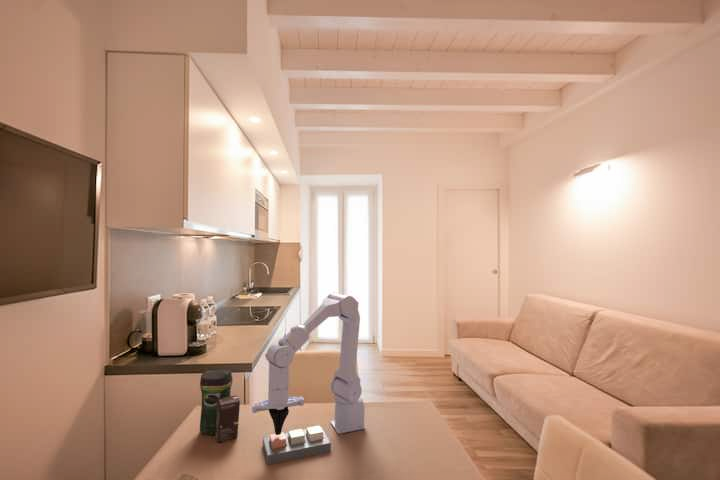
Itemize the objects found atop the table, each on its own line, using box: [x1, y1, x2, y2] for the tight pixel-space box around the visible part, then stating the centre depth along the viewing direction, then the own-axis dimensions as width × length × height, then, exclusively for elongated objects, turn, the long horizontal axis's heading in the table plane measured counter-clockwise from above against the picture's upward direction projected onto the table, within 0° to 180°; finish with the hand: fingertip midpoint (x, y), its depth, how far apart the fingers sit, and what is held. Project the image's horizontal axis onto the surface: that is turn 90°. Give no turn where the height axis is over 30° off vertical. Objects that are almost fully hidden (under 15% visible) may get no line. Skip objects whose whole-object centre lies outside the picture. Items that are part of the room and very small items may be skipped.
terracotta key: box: [269, 431, 286, 449], centre depth 107 cm, size 4×4×3 cm
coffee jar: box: [199, 370, 233, 435], centre depth 119 cm, size 10×8×19 cm
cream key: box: [306, 425, 323, 442], centre depth 111 cm, size 4×4×3 cm
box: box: [214, 395, 241, 443], centre depth 114 cm, size 6×4×12 cm
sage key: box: [288, 428, 305, 446], centre depth 109 cm, size 4×4×3 cm
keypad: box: [262, 426, 332, 465], centre depth 109 cm, size 18×10×2 cm, turn 112°
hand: (277, 433), depth 107 cm, fingers closed
